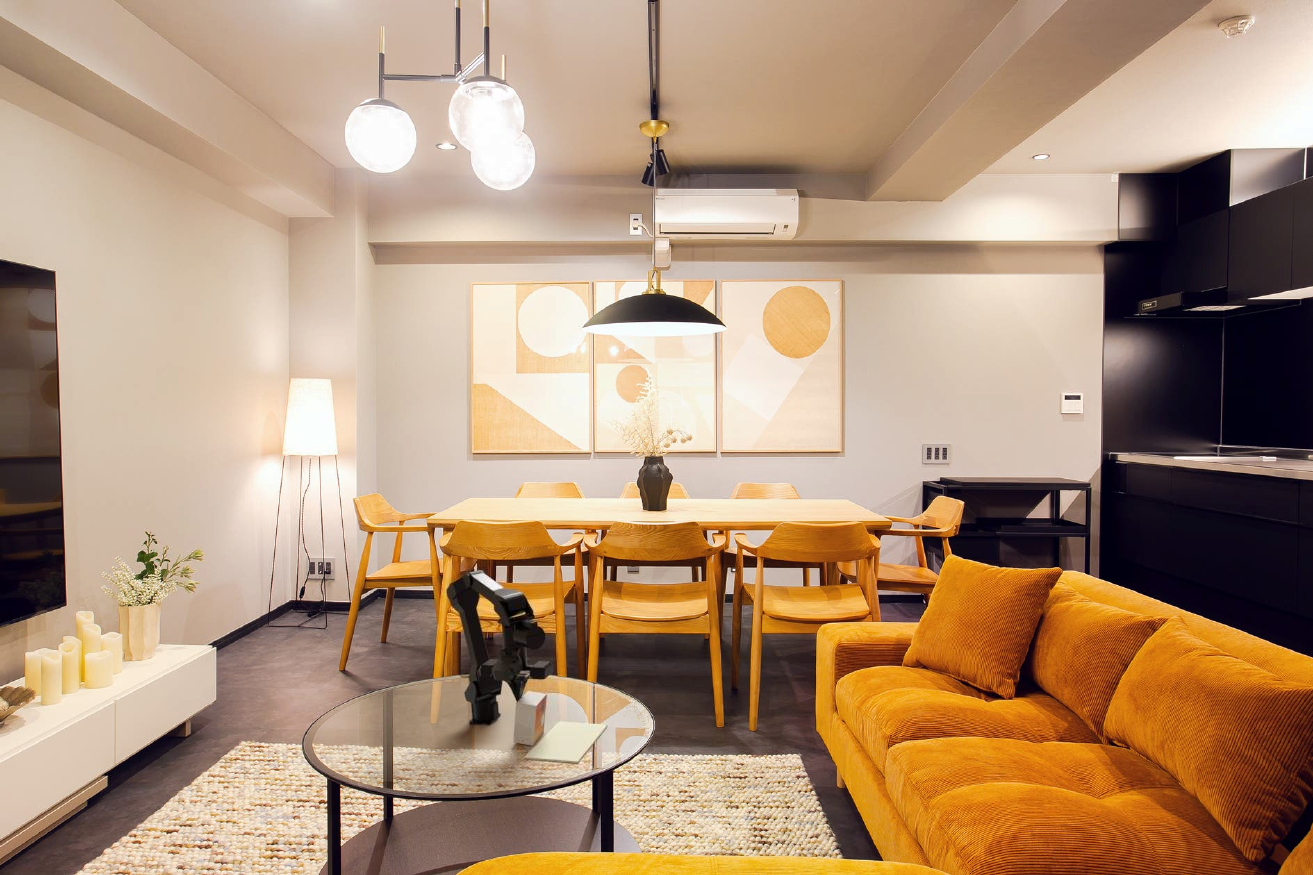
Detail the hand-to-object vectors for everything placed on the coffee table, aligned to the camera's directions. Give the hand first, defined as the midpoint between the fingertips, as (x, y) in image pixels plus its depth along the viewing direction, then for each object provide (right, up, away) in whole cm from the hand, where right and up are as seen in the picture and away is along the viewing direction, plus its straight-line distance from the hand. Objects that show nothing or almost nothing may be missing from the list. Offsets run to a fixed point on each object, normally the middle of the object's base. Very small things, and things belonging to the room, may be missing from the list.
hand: (518, 701), depth 185 cm
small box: (+3, -9, 0) cm, 10 cm away
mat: (+13, -9, -3) cm, 16 cm away
